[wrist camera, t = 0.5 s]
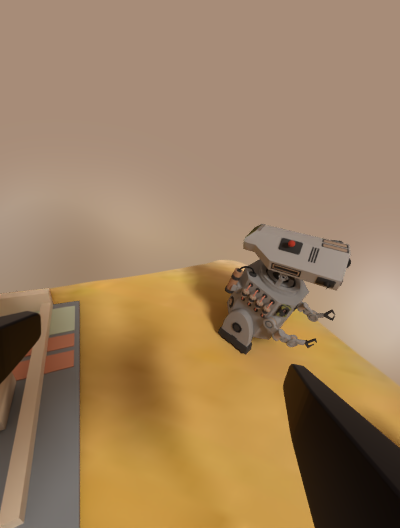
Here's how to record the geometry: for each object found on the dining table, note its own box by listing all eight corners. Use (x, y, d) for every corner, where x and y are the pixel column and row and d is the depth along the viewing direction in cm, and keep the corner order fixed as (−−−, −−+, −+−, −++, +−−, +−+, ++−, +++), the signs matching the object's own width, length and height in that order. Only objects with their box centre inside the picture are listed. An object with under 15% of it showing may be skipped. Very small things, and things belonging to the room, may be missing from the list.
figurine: (288, 392, 24) (359, 277, 16) (208, 328, 30) (233, 222, 23) (316, 346, 30) (377, 247, 23) (245, 301, 36) (274, 210, 29)
